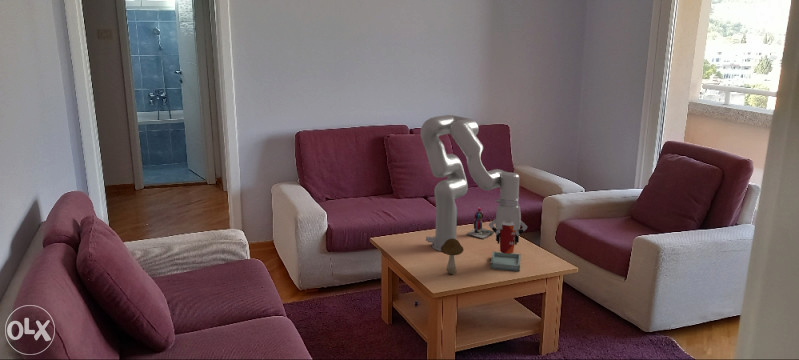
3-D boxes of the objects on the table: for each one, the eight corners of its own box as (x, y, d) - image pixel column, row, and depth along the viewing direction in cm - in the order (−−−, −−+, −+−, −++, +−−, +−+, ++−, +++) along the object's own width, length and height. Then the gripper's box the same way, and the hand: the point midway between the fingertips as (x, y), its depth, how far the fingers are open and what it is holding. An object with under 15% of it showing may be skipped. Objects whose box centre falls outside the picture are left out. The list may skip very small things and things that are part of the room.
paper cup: (516, 255, 243) (517, 222, 240) (497, 253, 244) (498, 221, 241) (516, 248, 250) (517, 217, 247) (497, 247, 252) (499, 216, 249)
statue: (483, 242, 280) (483, 213, 275) (466, 237, 285) (466, 209, 280) (494, 233, 288) (494, 205, 282) (478, 229, 293) (478, 201, 288)
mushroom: (462, 268, 244) (463, 234, 240) (462, 279, 233) (464, 243, 229) (440, 267, 244) (441, 233, 241) (439, 278, 233) (440, 242, 230)
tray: (490, 268, 244) (490, 263, 243) (492, 256, 257) (492, 251, 256) (519, 271, 241) (519, 265, 240) (520, 259, 254) (520, 253, 254)
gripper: (487, 203, 241) (485, 244, 245) (530, 206, 237) (528, 247, 241) (488, 198, 248) (487, 238, 252) (530, 201, 244) (528, 242, 248)
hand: (507, 243), depth 247 cm, fingers closed on paper cup, 6 cm apart
